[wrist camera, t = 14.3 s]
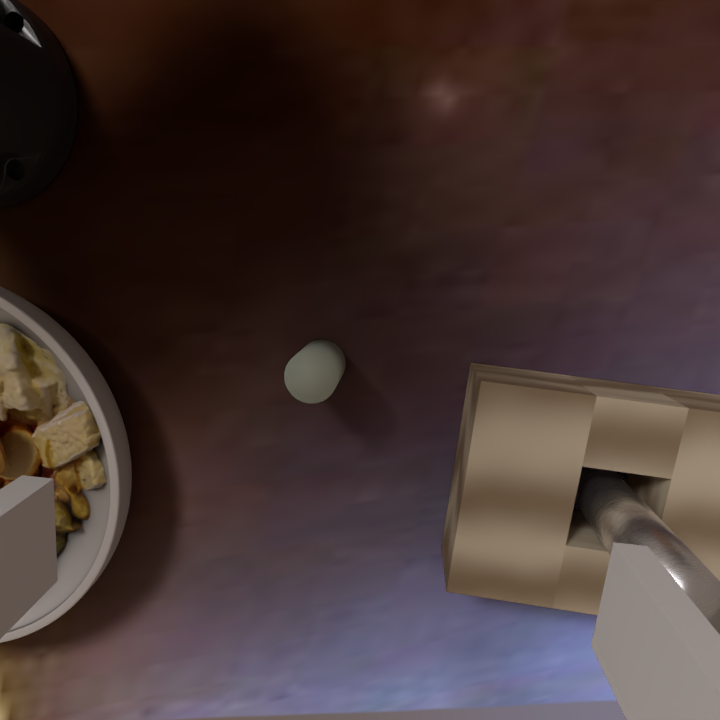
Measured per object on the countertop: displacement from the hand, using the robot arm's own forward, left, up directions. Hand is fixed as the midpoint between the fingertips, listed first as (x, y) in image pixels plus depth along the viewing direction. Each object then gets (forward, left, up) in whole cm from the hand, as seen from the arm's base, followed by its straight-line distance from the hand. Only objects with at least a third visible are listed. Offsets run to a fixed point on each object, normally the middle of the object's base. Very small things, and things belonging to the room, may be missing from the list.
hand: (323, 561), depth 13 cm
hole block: (+8, +17, -29) cm, 34 cm away
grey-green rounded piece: (+2, -4, -29) cm, 29 cm away
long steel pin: (+8, +17, -29) cm, 34 cm away
